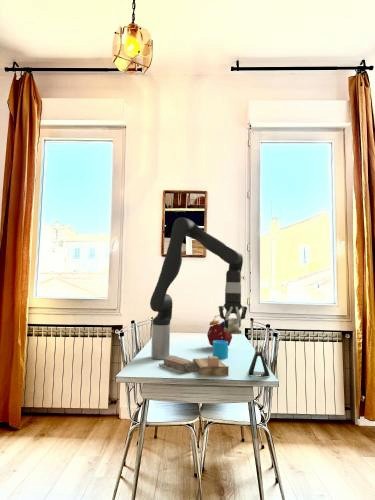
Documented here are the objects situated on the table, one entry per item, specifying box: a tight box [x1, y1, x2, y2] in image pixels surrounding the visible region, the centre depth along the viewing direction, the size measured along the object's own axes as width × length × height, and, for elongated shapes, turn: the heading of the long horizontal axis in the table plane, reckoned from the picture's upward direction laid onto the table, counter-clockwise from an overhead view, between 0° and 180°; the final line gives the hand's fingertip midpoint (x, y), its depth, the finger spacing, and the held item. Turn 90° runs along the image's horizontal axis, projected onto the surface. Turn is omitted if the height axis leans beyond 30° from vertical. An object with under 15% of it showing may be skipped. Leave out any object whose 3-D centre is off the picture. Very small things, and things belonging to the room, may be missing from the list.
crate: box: [207, 355, 220, 367], centre depth 149 cm, size 4×4×4 cm
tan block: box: [224, 317, 242, 335], centre depth 158 cm, size 6×8×6 cm
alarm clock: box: [206, 314, 233, 347], centre depth 203 cm, size 15×9×20 cm, turn 46°
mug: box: [212, 340, 229, 360], centre depth 183 cm, size 12×8×8 cm
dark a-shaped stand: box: [248, 345, 271, 378], centre depth 149 cm, size 9×6×12 cm, turn 80°
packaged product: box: [158, 354, 198, 375], centre depth 156 cm, size 18×5×10 cm
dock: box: [192, 357, 229, 377], centre depth 154 cm, size 12×19×4 cm, turn 10°
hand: (232, 328), depth 158 cm, fingers closed on tan block, 5 cm apart
